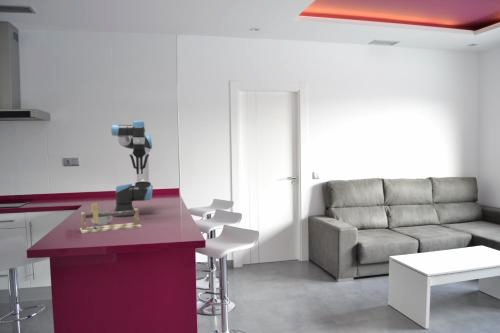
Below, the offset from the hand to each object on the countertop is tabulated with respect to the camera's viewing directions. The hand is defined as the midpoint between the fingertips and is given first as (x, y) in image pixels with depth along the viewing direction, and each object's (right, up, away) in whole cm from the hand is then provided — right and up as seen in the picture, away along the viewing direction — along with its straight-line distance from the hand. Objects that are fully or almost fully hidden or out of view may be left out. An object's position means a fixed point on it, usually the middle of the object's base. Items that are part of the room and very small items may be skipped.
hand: (139, 178), depth 259 cm
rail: (-11, -30, -23) cm, 39 cm away
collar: (-19, -25, -28) cm, 42 cm away
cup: (-21, -30, -7) cm, 37 cm away
